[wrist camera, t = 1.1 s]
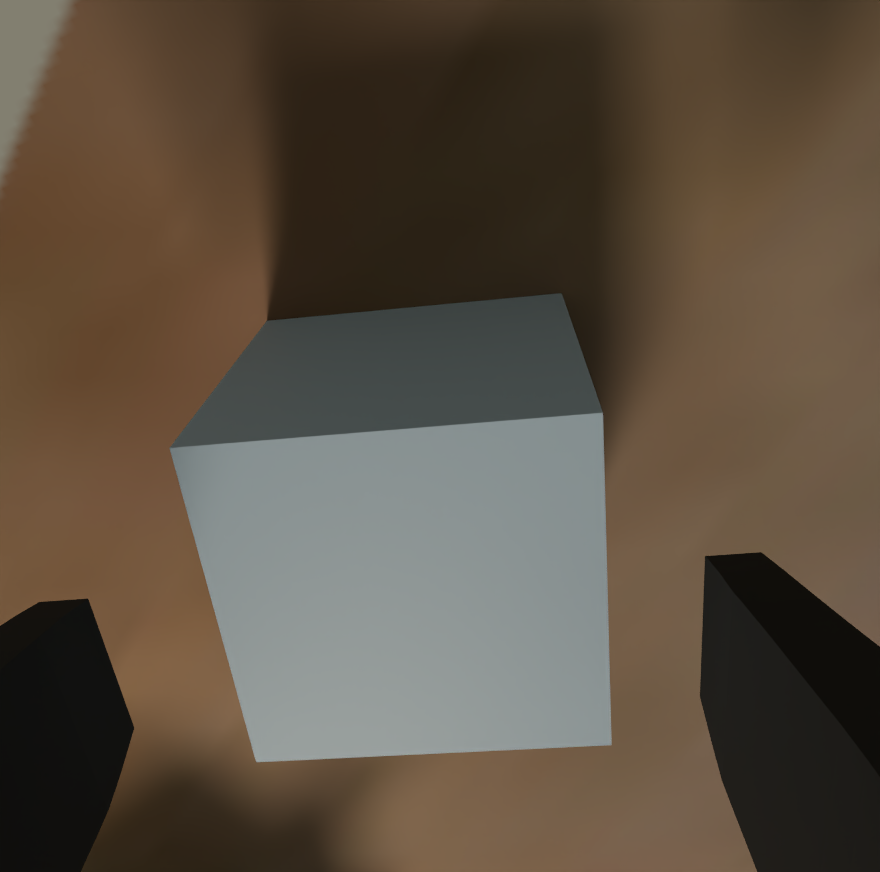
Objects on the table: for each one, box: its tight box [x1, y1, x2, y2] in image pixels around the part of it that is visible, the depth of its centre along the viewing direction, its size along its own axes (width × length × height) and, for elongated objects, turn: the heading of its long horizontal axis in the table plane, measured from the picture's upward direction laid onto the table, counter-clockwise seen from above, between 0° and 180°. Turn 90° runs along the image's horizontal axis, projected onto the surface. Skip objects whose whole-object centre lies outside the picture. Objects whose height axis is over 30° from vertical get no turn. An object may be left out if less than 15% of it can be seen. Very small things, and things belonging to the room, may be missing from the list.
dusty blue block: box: [170, 293, 611, 762], centre depth 13 cm, size 5×5×5 cm
